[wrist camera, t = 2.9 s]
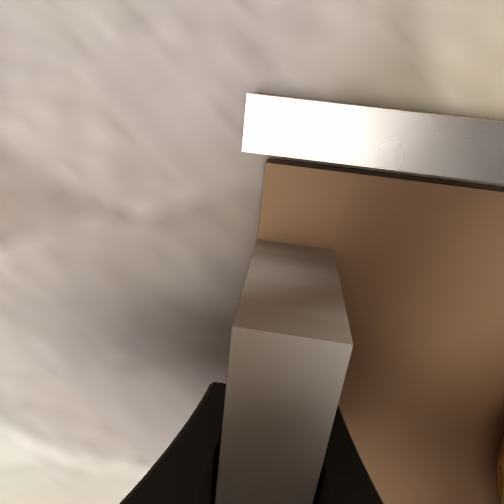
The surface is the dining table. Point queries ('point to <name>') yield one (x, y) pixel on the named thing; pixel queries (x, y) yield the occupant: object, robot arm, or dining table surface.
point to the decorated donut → (501, 472)
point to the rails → (375, 137)
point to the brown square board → (368, 338)
